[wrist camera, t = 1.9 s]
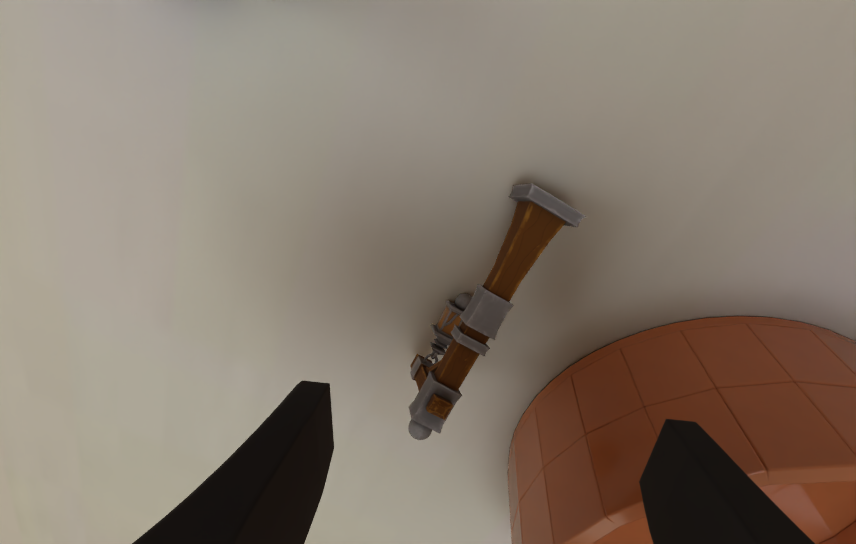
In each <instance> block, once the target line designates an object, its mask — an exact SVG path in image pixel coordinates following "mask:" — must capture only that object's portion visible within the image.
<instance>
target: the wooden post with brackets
mask: <svg viewBox="0 0 856 544" xmlns="http://www.w3.org/2000/svg"><path fill="white" fill-rule="evenodd" d="M509 197H510V198H511V199H513V200H515V201H516V202H518V204H517V207H516V210H515V214H514V217H513V220H512V223H511V226H510V228H509V230H508V233H507V235H506V238H505V240H504V242H503V245H502V247H501V250H500V252H499V254H498V257H497V259H496V261H495V264H494V266H493V268H492V270H491V272H490V274H489V275H488V277H487V279H486V281H485V283H484V285H483V286H481V285H479V284H478V286H477V289H476V292H475V294H474V296H473V297H471V296H470V295H469V294H466V293H463V294H460V295H459V296H458V297H457V298H456V300H455V304H453V303H452V302H450V301H448V300H447V301H446V303H447V304H446V308H445V310H444V312H443V314H442V316H441V318H440V320H439V322H438V324H437V325H434V324H432V323H431V325H430V326H431V328H432V330H433V333H434V334H435V335H436V337H437V338H436V339H434V340H435V342H436V344H435V343H432V342H430V345H431V347H432V349H433V352H432V354H429V355H427V356H426V357H423V356H421V355H419V354H417V355H416V357H415V358H414V360H413V362H412V364H411V372H410V373H411V377H412V379H413V380H415V381H416V383H417V386H418V389H419V393H418V395H417V396H416V398H415V400H414V401H413V402H412V404H411V405H410V406H409V410H410V414H411V421H410V423H409V428H408V429H409V432H410V434H411V436H412V437H413V438H415V439H417V440H424V439H426V438H428V437H429V436H430V434H431V432H432V430H434V431H436V432H438V433H440V432H441V429H442V426H443V424H444V422H445V421H446V419H447V417H448V415H449V414H450V412H451V410H452V408H453V407H454V405H455V403H456V402H457V401H458V399H459V398H460V397H461V396H462V395H461V393H460V391H459V387H460V386H461V384H462V382H463V381H464V379H465V377H466V376H467V374H468V372H469V371H470V369H471V367H472V366H473V364H474V362H475V361H476V359H477V357H478V356H479V354H481V355H483V356H485V354H486V352H487V350H488V349H490V348H489V347H488V345H487V344H486V342H487V341H488V339H489V338H492V339H494V340H495V337H496V334H497V331H498V329H499V327H500V325H501V323H502V321H503V320H504V318H505V316H506V314H507V313H508V311H509V310H510V309H511V308H512V307H513V306H514V305H513V304H512V303H510V302H509V301H510V300H511V298H512V296H513V295H514V293H515V291H516V289H517V288H518V286H519V284H520V283H521V281H522V280H523V278H524V277H525V275H526V274H527V273H528V271H529V270H530V268H531V267H532V266H533V264H534V263H535V261H536V260H537V259H538V257H539V256H540V254H541V253H542V252H543V250H544V249H545V247H546V246H547V245H548V243H549V242H550V240H551V239H552V238H553V237H554V236H555V235H556V233H557V232H558V231H559V230H560V229H561V228H562V226H563V225H565V226H572V227H578V224H579V223H580V221H581V220H582V219H583V218H585V217H587V216H585V215H584V214H582V213H580V212H579V211H577V210H575V209H574V208H572V207H571V206H569V205H567V204H566V203H564V202H562V201H561V200H559V199H557V198H556V197H554V196H552V195H551V194H549V193H547V192H546V191H544V190H543V189H541V188H539V187H538V186H536V185H534V184H533V183H532V184H522V185H513V191H512V193H511V195H510V196H509ZM447 345H449V347H448V349H447ZM443 348H446V349H447V351H446V352H445V350H444V349H443ZM434 354H435V355H434ZM437 354H438V355H444V356H443V358H442V360H440V361H439V362H438V358H437ZM430 356H431V358H432V359H434V358H435V360H436V361H435V363H434V364H433V363H432V361H431V360H429V359H427V358H428V357H430Z"/></svg>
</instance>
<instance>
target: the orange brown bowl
mask: <svg viewBox="0 0 856 544" xmlns="http://www.w3.org/2000/svg"><path fill="white" fill-rule="evenodd" d="M666 419H674V420H683V421H693V422H696V423H697V424H698V425H699V426H700V427H701V428H702V429H703V430H704V431H705V432H706V433H707V434H708V435H709V436H710V437H711V438H712V439H713V440H714V441H715V442H716V443H717V444H718V445H719V446H720V447H721V448H722V449H723V450H724V451H725V452H726V453H727V454H728V455H729V457H730V458H731V459H732V460H733V461H734V462H735V463H736V464H737V465H738V466H739V467H740V468H741V469H742V470H743V471H744V472H745V473H746V474H747V475H748V476H749V477H750V479H751V480H752V481H753V482H754V483H755V484H756V485H757V486H758V487H759V488H760V489H761V490H762V491H763V492H764V493H765V494H766V495H767V496H768V497H769V498H770V499H771V500H772V501H773V502H774V503H775V504H776V505H777V506H778V507H779V508H780V509H781V510H782V511H783V512H784V513H785V514H786V515H787V516H788V517H789V518H790V519H791V520H792V521H793V522H794V523H795V524H796V525H797V526H798V527H799V528H800V529H801V530H802V531H803V532H804V533H805V534H806V535H807V536H808V537H809V538H810V539H811V540H812V541H813V542H814V543H815V544H856V342H855V341H853V340H851V339H849V338H847V337H844V336H842V335H840V334H837V333H835V332H833V331H830V330H828V329H824V328H820V327H817V326H813V325H809V324H806V323H802V322H798V321H791V320H784V319H778V318H771V317H751V316H730V317H713V318H703V319H696V320H690V321H684V322H677V323H673V324H669V325H665V326H661V327H657V328H653V329H649V330H645V331H643V332H640V333H637V334H634V335H631V336H629V337H626V338H623V339H620V340H618V341H616V342H613V343H611V344H609V345H607V346H605V347H603V348H601V349H599V350H597V351H595V352H593V353H591V354H589V355H588V356H586V357H584V358H583V359H581V360H580V361H578V362H576V363H575V364H573V365H572V366H570V367H569V368H567V369H566V370H565V371H564V372H562V373H561V374H560V375H559V376H557V377H556V378H555V379H554V380H552V381H551V382H550V383H549V384H548V385H547V386H546V387H545V388H544V389H543V390H542V391H541V392H540V393H539V394H538V395H537V396H536V397H535V399H534V400H533V401H532V403H531V404H530V406H529V407H528V408H527V410H526V411H525V412H524V414H523V416H522V418H521V420H520V422H519V424H518V426H517V428H516V430H515V432H514V435H513V439H512V442H511V445H510V451H509V460H508V489H509V506H510V522H511V539H512V544H653V541H652V537H651V534H650V531H649V527H648V522H647V518H646V514H645V509H644V504H643V499H642V494H641V489H640V484H639V481H640V478H641V476H642V474H643V471H644V469H645V467H646V464H647V462H648V459H649V457H650V455H651V452H652V450H653V448H654V445H655V443H656V441H657V438H658V436H659V434H660V431H661V429H662V427H663V424H664V422H665V420H666Z"/></svg>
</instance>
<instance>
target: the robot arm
mask: <svg viewBox="0 0 856 544" xmlns="http://www.w3.org/2000/svg"><path fill="white" fill-rule="evenodd" d="M333 449H334V441H333V426H332V412H331V398H330V383H320V382H310V381H301V382H300V383H298V384H297V385H296V387H295V388H294V389H293V390H292V391H291V392H290V393H289V395H288V396H287V397H286V398H285V399H284V400H283V401H282V402H281V404H280V405H279V406H278V407H277V408H276V409H275V410H274V411H273V412H272V414H271V415H270V416H269V417H268V418H267V419H266V420H265V421H264V422H263V423H262V424H261V425H260V427H259V428H258V429H257V430H256V431H255V432H254V433H253V434H252V435H251V436H250V437H249V438H248V439H247V440H246V441H245V442H244V443H243V444H242V445H241V446H240V447H239V448H238V449H237V450H236V451H235V452H234V453H233V454H232V455H231V456H230V457H229V458H228V459H227V460H226V461H225V462H224V463H223V464H222V465H221V466H220V467H219V468H218V469H217V470H216V471H215V472H214V473H213V474H212V475H211V476H209V477H208V478H207V479H206V480H205V481H204V482H203V483H202V484H201V485H200V486H199V487H198V488H197V489H196V490H195V491H193V492H192V493H191V494H190V495H189V496H188V497H187V498H186V499H185V500H184V501H182V502H181V503H180V504H179V505H178V506H177V507H176V508H174V509H173V510H172V511H171V512H170V513H169V514H168V515H166V516H165V517H164V518H163V519H162V520H160V521H159V522H158V523H157V524H156V525H154V526H153V527H152V528H151V529H150V530H148V531H147V532H146V533H145V534H143V535H142V536H141V537H140V538H139V539H137V540H136V541H135V542H134V543H132V544H304V543H305V540H306V537H307V534H308V532H309V529H310V526H311V524H312V521H313V518H314V515H315V513H316V510H317V507H318V504H319V502H320V499H321V496H322V493H323V489H324V486H325V482H326V478H327V474H328V470H329V466H330V462H331V458H332V454H333ZM639 484H640V489H641V494H642V499H643V504H644V509H645V514H646V518H647V522H648V527H649V531H650V534H651V537H652V541H653V544H815V543H814V542H813V541H812V540H811V539H810V538H809V537H808V536H807V535H806V534H805V533H804V532H803V531H802V530H801V529H800V528H799V527H798V526H797V525H796V524H795V523H794V522H793V521H792V520H791V519H790V518H789V517H788V516H787V515H786V514H785V513H784V512H783V511H782V510H781V509H780V508H779V507H778V506H777V505H776V504H775V503H774V502H773V501H772V500H771V499H770V498H769V497H768V496H767V495H766V494H765V493H764V492H763V491H762V490H761V489H760V488H759V487H758V486H757V485H756V484H755V483H754V482H753V481H752V480H751V479H750V477H749V476H748V475H747V474H746V473H745V472H744V471H743V470H742V469H741V468H740V467H739V466H738V465H737V464H736V463H735V462H734V461H733V460H732V459H731V458H730V457H729V455H728V454H727V453H726V452H725V451H724V450H723V449H722V448H721V447H720V446H719V445H718V444H717V443H716V442H715V441H714V440H713V439H712V438H711V437H710V436H709V435H708V434H707V433H706V432H705V431H704V430H703V429H702V428H701V427H700V426H699V425H698V424H697V423H696V422H693V421H683V420H674V419H666V420H665V422H664V424H663V427H662V429H661V431H660V434H659V436H658V438H657V441H656V443H655V445H654V448H653V450H652V452H651V455H650V457H649V459H648V462H647V464H646V467H645V469H644V471H643V474H642V476H641V478H640V481H639Z"/></svg>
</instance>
